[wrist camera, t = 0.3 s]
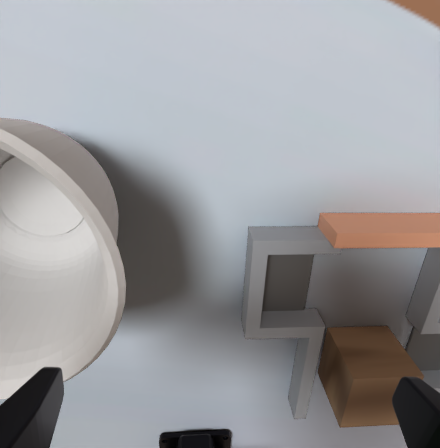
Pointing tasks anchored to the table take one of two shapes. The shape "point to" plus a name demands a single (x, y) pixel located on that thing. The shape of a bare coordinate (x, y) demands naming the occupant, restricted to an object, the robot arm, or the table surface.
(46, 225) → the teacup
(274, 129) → the table surface
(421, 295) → the trap lane
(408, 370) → the walnut block
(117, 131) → the table surface
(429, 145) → the table surface
